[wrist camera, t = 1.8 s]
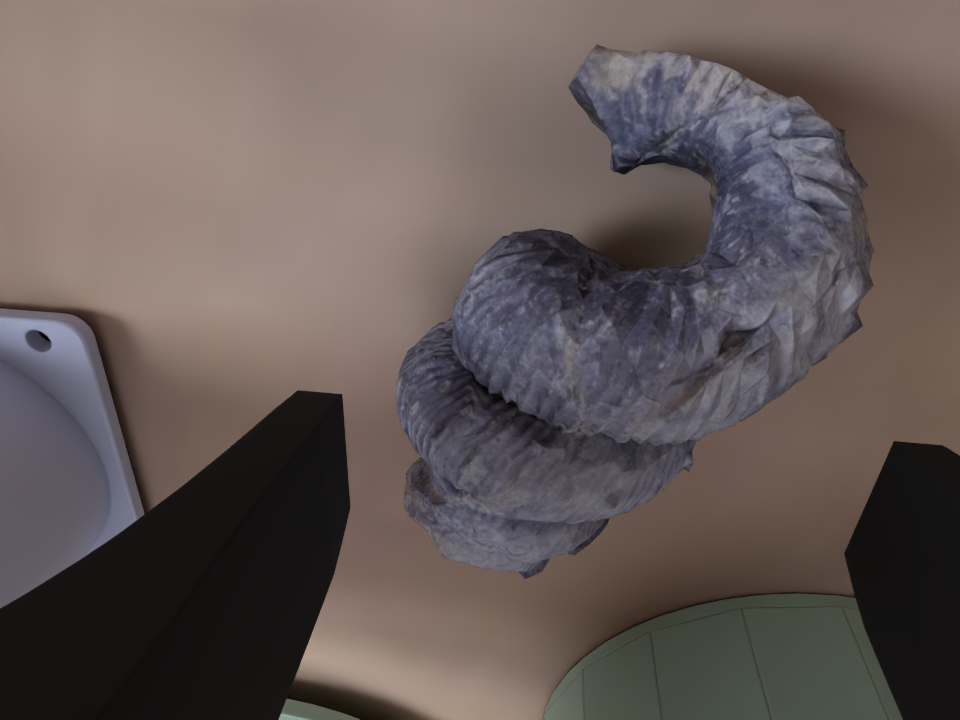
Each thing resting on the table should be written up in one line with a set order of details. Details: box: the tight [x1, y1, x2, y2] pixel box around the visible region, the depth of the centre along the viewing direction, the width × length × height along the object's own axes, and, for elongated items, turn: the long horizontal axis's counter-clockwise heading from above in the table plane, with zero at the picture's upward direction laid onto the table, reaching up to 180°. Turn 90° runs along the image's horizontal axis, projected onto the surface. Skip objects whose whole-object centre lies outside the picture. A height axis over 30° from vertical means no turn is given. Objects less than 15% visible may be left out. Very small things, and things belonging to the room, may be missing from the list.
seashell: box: [396, 45, 874, 579], centre depth 12 cm, size 5×5×10 cm
